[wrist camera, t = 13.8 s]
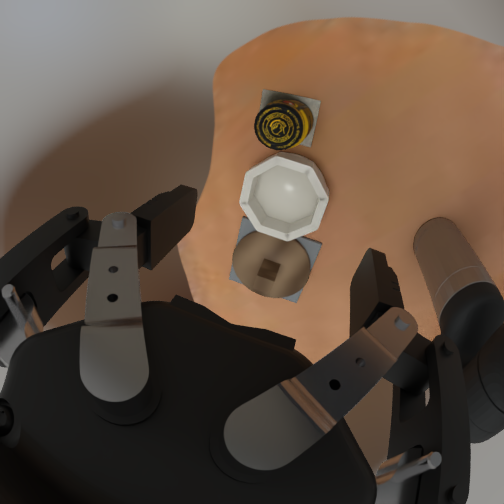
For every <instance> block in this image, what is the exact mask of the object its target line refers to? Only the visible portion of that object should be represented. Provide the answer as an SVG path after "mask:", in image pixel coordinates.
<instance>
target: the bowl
mask: <svg viewBox="0 0 504 504" xmlns="http://www.w3.org/2000/svg"><path fill="white" fill-rule="evenodd" d="M328 200H329V189H328V187H327V185H326V183H325V179H324V177H323V174H322V173H321V171H320V169H319V168H318V167H317V166H316V165H315V163H314V162H313V161H310V160H309V159H308V158H306V157H304V156H301V155H299V154H295V153H285V152H282V151H281V152H278V153H276V154H274V155H272V156H270V157H268V158H266V159H265V160H263V161H262V162H260V163H258V164H256V165H254V166H253V167H252V168H250V169H249V170H248V171H247V172H246V174H245V178H244V183H243V188H242V192H241V197H240V202H239V203H240V206H241V207H242V209H243V210H244V212H245V214H246V215H247V217H248V218H249V220H250V221H251V223H252V225H253V226H254V228H255V229H256V230H257V231H258V232H261V233H264V234H267V235H270V236H273V237H276V238H279V239H282V240H284V241H291V240H293V239H296V238H298V237H301V236H303V235H306V234H308V233H311V232H313V231H316V230H317V229H318V227H319V225H320V222H321V219H322V217H323V214H324V211H325V209H326V206H327V203H328Z"/></svg>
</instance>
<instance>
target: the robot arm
mask: <svg viewBox="0 0 504 504" xmlns="http://www.w3.org/2000/svg"><path fill="white" fill-rule="evenodd" d="M196 202H197V189H195V188H192V187H188V186H185V185H180V186H178V187H177V188H175V189H173V190H172V191H170V192H165V193H161V194H158V195H157V196H155V197H154V198H152V200H149V201H148V202H147V203H145V204H143V205H142V206H140V207H139V208H137V209H136V210H134V211H133V212H131V213H127V212H116V213H112V214H109V215H107V216H106V217H105V218H104V219H103V221H95V220H89V216H88V210H87V209H86V208H84V207H71V208H67V209H65V210H63V211H62V212H60V213H59V214H57V215H56V216H54V217H53V218H52V219H50V220H49V221H47V222H46V223H45V224H43V225H42V226H41V227H39V228H38V229H37V230H35V231H34V232H32V233H31V234H30V235H29V236H27V237H26V238H25V239H24V240H22V241H21V242H20V243H18V244H17V245H16V246H15V247H13V248H12V249H11V250H10V251H9V252H7V253H6V254H5V255H4V256H3V257H2V258H1V259H0V366H1V367H8V371H7V375H6V379H5V382H4V385H3V388H2V391H1V393H0V504H466V501H467V499H468V494H469V483H470V459H471V456H470V454H471V449H470V443H481V442H484V441H486V440H488V439H490V438H491V437H493V436H495V435H496V434H498V433H499V432H500V431H502V430H503V429H504V324H503V323H504V300H503V297H502V295H501V294H500V292H499V290H498V288H497V287H496V285H495V283H494V281H493V280H492V278H491V276H490V275H489V273H488V272H487V270H486V269H485V267H484V265H483V264H482V262H481V261H480V259H479V258H478V256H477V255H476V253H475V252H474V250H473V249H472V247H471V246H470V244H469V243H468V242H467V240H466V239H465V237H464V236H463V235H462V233H461V232H460V231H459V229H458V228H457V227H456V225H455V224H454V223H453V222H452V221H450V220H448V219H445V218H435V219H432V220H430V221H428V222H426V223H425V224H423V226H422V227H421V228H420V229H419V230H418V232H417V234H416V236H415V239H414V253H415V255H416V258H417V260H418V263H419V266H420V268H421V271H422V274H423V276H424V279H425V282H426V285H427V287H428V290H429V293H430V296H431V299H432V302H433V306H434V309H435V312H436V315H437V318H438V322H439V325H440V329H441V335H438V336H436V337H435V338H434V340H433V341H432V342H431V341H430V340H428V339H426V338H425V337H423V336H422V335H420V334H419V333H417V332H418V325H417V322H416V320H415V319H414V317H413V316H412V315H411V314H410V313H409V312H407V311H406V310H404V305H403V300H402V296H401V292H400V287H399V283H398V279H397V276H396V274H395V272H394V271H393V269H392V268H391V267H388V264H387V260H386V256H385V254H384V253H382V252H379V251H377V250H374V249H372V248H369V249H368V250H367V251H366V253H365V255H364V257H363V259H362V261H361V263H360V265H359V267H358V268H357V270H356V272H355V274H354V276H353V279H352V282H351V286H350V338H349V339H347V340H346V341H345V342H344V343H342V344H341V345H340V346H338V347H337V348H336V349H334V350H333V351H332V352H330V353H329V354H327V355H326V356H325V357H323V358H322V359H320V360H319V361H318V362H316V363H315V364H312V363H311V362H310V361H309V360H308V359H307V358H306V357H305V356H304V355H302V354H301V353H300V352H298V351H297V350H295V349H294V347H295V342H296V339H293V338H290V337H287V336H284V335H281V334H278V333H275V332H272V331H269V330H266V329H260V328H253V327H247V326H240V325H234V324H231V323H229V322H227V321H226V320H224V319H223V318H221V317H220V316H218V315H217V314H215V313H214V312H212V311H211V310H209V309H208V308H206V307H205V306H203V305H200V304H198V303H195V302H193V301H190V300H188V299H185V298H183V297H181V296H178V295H175V297H174V298H173V299H172V301H171V302H164V301H147V302H141V294H140V281H139V269H140V268H141V267H145V268H147V269H149V270H152V269H153V268H154V267H155V266H156V265H157V264H158V263H159V262H160V261H161V260H162V259H163V258H164V257H165V256H166V255H167V254H168V253H169V252H170V251H171V249H172V248H173V247H174V246H175V245H176V244H177V243H178V242H179V241H180V240H181V239H182V238H183V237H184V236H185V235H186V234H187V233H188V232H189V231H190V230H191V228H192V226H193V223H194V218H195V210H196ZM63 248H64V250H65V255H66V259H64V260H63V261H62V262H61V263H60V264H59V265H58V266H57V267H56V268H55V269H54V270H52V269H51V262H52V259H53V257H54V256H55V255H56V254H57V253H58V252H59V251H61V250H62V249H63ZM88 277H89V279H88V287H87V288H88V289H87V297H86V309H85V319H84V320H81V321H77V322H74V323H71V324H67V325H64V326H61V327H57V328H54V329H50V330H47V331H43V327H44V326H45V325H46V324H47V322H48V321H49V320H50V319H51V318H52V317H53V315H54V314H55V313H56V312H57V311H58V309H59V308H60V307H61V306H62V305H63V304H64V303H65V302H66V301H67V300H68V298H69V297H70V296H71V295H72V294H73V293H74V292H75V291H76V290H77V289H78V288H79V287H80V285H81V284H82V283H83V282H84V281H85V280H86V279H87V278H88ZM382 377H383V378H384V379H386V380H388V381H390V382H392V383H393V401H392V418H391V430H390V440H389V448H388V456H387V460H386V461H384V462H383V463H382V464H381V465H380V467H379V469H378V471H377V474H376V476H375V475H374V473H373V471H372V469H371V467H370V465H369V464H368V462H367V460H366V458H365V456H364V454H363V452H362V451H361V449H360V447H359V445H358V443H357V441H356V439H355V438H354V436H353V434H352V432H351V430H350V428H349V427H348V425H347V423H346V421H345V419H344V416H345V415H346V414H347V413H348V412H349V411H350V410H351V409H352V408H353V407H354V406H355V405H356V404H357V403H358V402H359V401H360V400H361V399H362V398H363V397H364V396H365V395H366V394H367V393H368V392H369V391H370V390H371V389H372V388H373V387H374V386H375V385H376V384H377V383H378V381H379V380H380V379H381V378H382ZM428 388H429V390H430V399H429V402H428V404H427V406H426V404H425V391H426V390H427V389H428Z"/></svg>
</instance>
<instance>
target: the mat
mask: <svg viewBox="0 0 504 504" xmlns="http://www.w3.org/2000/svg"><path fill="white" fill-rule="evenodd" d="M253 231H256V229H255V228H254V226H253V225H252V223H251V221H250V220H249V218H247V217H244V216H243V218H242V222H241V226H240V231H239V235H238V240H237V244H238V243H239V242H240V240H241V239H242V238H243V237H244V236H246V235H247V234H249V233H251V232H253ZM296 239H297V240H298V241H299V242H300V243H301V244H302V245H303V247H304V248H305V249H306V251H307V253H308V255H309V259H310V265H311V266H310V271H311V269H312V267H313V264H314V262H315V260H316V257H317V255H318V253H319V250H320V248H321V245H322V243H321V242H318V241H315V240H312V239H309V238H306V237H304V236H301V237H298V238H296ZM236 246H237V245H236ZM229 279H230V280H233V281H236V282H238V283H241V284H243V283H242V282H241V281H240V280H239V278H238V277H237V275H236V273H235V271H234V268H233V263H232V268H231V272H230V277H229ZM302 289H303V288H302ZM302 289H301V290H300V291H298V292H297V293H295V294H293V295H291V296H288V297H283V299H286V300H289V301H292V302H295V303H297V300H298V298H299V296H300V294H301V292H302Z"/></svg>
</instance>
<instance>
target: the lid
mask: <svg viewBox="0 0 504 504" xmlns="http://www.w3.org/2000/svg"><path fill="white" fill-rule="evenodd" d="M232 263H233V268H234V271H235V273H236V275H237V277H238V278H239V280H240V281H241V282H242V283H243V284H244V285H245V286H246V287H247V288H248V289H250V290H251V291H253V292H255V293H257V294H259V295H262V296H266V297H271V298H283V297H288V296H291V295H293V294H295V293H297V292H298V291H300V290H301V289H302V288H303V287H304V286H305V284H306V283H307V281H308V278H309V274H310V266H311V265H310V259H309V255H308V253H307V251H306V249H305V248H304V247H303V245H302V244H301V243H300V242H299V241H298V240H297V239H293V240H291V241H284V240H282V239H279V238H276V237H273V236H270V235H267V234H264V233H261V232H258V231H257V230H256V231H253V232H251V233H249V234H247V235H246V236H244V237H243V238H242V239H241V240H240V242H239V243H238V244H237V246H236V248H235V250H234V253H233V258H232Z"/></svg>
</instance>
